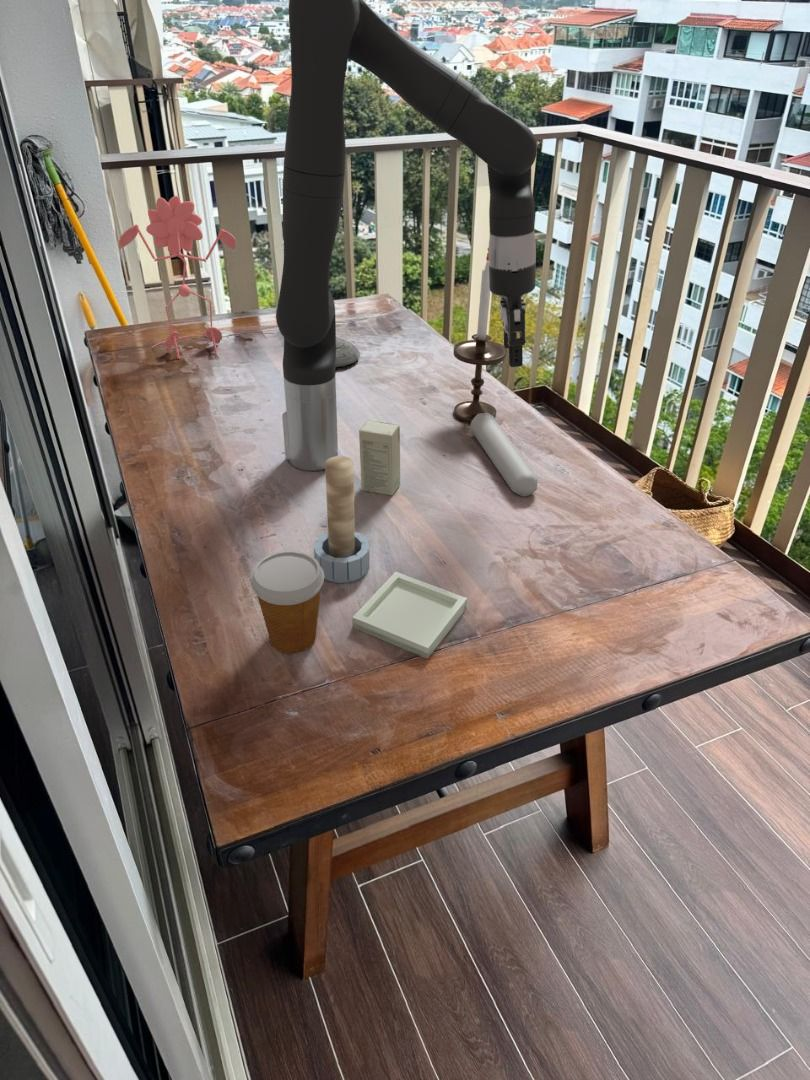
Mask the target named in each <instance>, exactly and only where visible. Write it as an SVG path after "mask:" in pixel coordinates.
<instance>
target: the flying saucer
mask: <svg viewBox="0 0 810 1080" xmlns="http://www.w3.org/2000/svg"><path fill="white" fill-rule="evenodd" d="M360 357H361V352H360V350H359V349H358V348H357V346H356V345H354V344H353V342H351V341H348V340H347V339H344V338H340V337H336V361H335V368H340V367H342V368H343V367H345V366H348V365H351V364H354V363H355V362H357V361H358V360H359V359H360Z"/></svg>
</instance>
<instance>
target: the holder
mask: <svg viewBox="0 0 810 1080" xmlns="http://www.w3.org/2000/svg"><path fill="white" fill-rule="evenodd" d="M370 547H371V546H370V541H369V539H368V538H367V537H366V536H365V535H364V534H362V533H360V532H358V531H355V555H353V556H350V557H347V558H335V557H332V556H330V555H329V540H328V532H325V533H323V534H321V535H320V536H319V537H318V538H317V539H316V540H315V541H314V547H313V557H314V558H315V559H316V560H317V561H318V563H319V565H320V566H321V568H322V569H323V571H324V581H327V582H330V583H334V584H349V583H354V582H357V581H359V580H361V579H362V578H364V577H365V576H366V575H367V574H368V572H369V570H370V556H371V555H370V551H371V549H370Z"/></svg>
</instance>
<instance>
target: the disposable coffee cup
mask: <svg viewBox="0 0 810 1080" xmlns="http://www.w3.org/2000/svg"><path fill="white" fill-rule="evenodd" d="M324 581H325V580H324V571H323V569H322V568H321V566H320V565H319V563H318V561H317V560H316V559H315V558H314V555H311V554H309V553H306V552H304V551H300V550H281V551H277V552H274V553H273V552H272V553H271V554H269V555H267V556H265V557H263V558H262V559H260V560H259V561H258V562H257V564H256V565H255V567H254V569H253V572H252V574H251V578H250V584H251V587H252V590H253V592H254V593H255V594H256V597H257V599H258V602H259V605H260V609H261V613H262V616H263V620H264V623H265V627H266V630H267V634H268V637H269V641H270V646H272V648H274V650H276V651H278V652H280V653H283V654H291V655H292V654H299V653H302V652H305V651H307V650H308V649H310V648H311V647H312V646H313V645H314V644H315V642H316V638H317V631H318V630H317V628H318V619H319V610H320V609H319V608H320V599H321V590H322V587H323V584H324Z"/></svg>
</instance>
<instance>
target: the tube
mask: <svg viewBox="0 0 810 1080" xmlns="http://www.w3.org/2000/svg"><path fill="white" fill-rule="evenodd" d="M469 429H470V433H472V434H473V435H474V437H475V438H476V439H477V441H478V443H479V444H480V445H481V447H482V449H483V450H484V451H485V453H486V454H487V455H488V457H489V458H490V460H491V462H492V463H493V464H494V466H495V468H496V469H497V470H498V472H499V473H500V475H501V477H502V478H503V480H505V482H506V484H507V485H508V486H509V488H510V489H511V491H512V492H514V493H515V494H517V495H518V496H520V497H523V498H524V497H525V498H526V497H528V496H531V495H532V494H533V493H535V492H536V491H537V489H538V480H539V476H538V475H537V473H535V471H534V470H533V468H532V467H531V466H530V465H529V464H528V462H527V460H526V459H525V458H524V456H523V455H522V454H521V452H520V451H519V450H518V449H517V447H516V446H515V445H514V443H513V442H512V441H511V439H510V438H509V436H508V434H506V432H505V431H504V430H503V428H502V427H501V425H499V423H498V422H497V420H496V417H493V416H492V415H490V414H489V413H480V414H477V415H476V416H475V418H474V419H473V420H472V421H471V423H470V428H469Z"/></svg>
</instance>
